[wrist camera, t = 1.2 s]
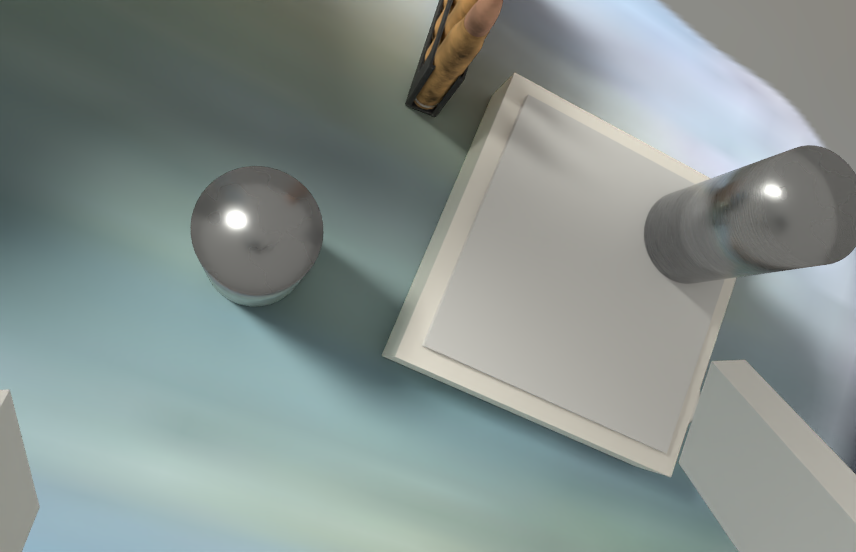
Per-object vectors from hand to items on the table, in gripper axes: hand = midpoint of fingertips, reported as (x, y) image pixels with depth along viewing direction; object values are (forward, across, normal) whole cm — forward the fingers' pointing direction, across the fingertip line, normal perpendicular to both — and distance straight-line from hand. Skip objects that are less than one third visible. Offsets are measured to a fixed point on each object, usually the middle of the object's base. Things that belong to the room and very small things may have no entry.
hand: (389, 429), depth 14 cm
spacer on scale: (+21, +19, -6) cm, 29 cm away
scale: (+23, +13, -10) cm, 28 cm away
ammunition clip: (+31, +7, +3) cm, 32 cm away
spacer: (+22, -4, -8) cm, 24 cm away
